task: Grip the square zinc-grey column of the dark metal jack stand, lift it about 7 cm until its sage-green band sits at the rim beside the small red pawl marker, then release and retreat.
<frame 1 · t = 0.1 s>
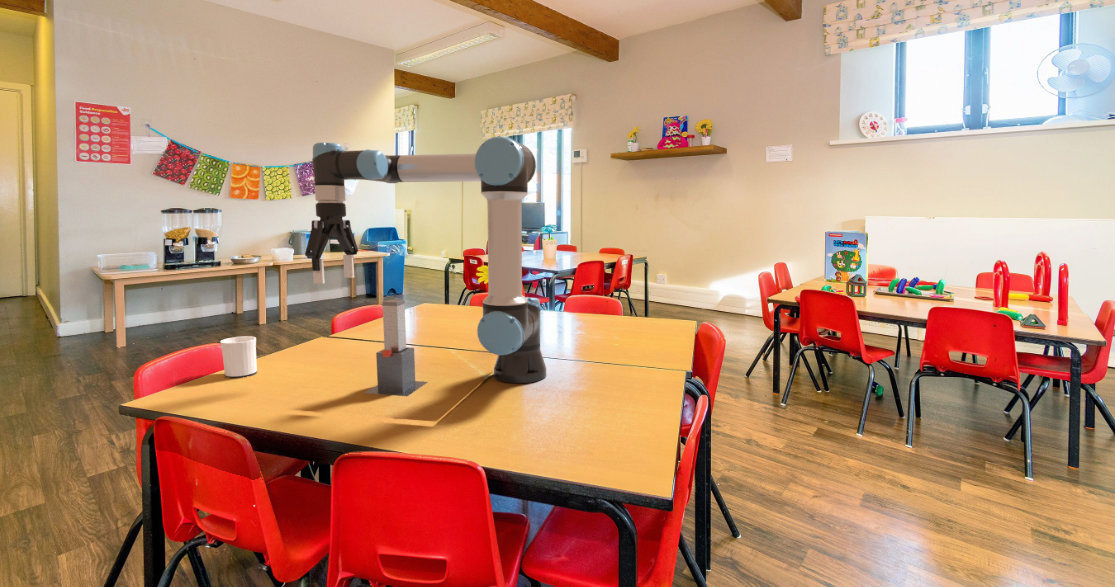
hand: (334, 280, 150), 28 cm above the table, fingers open, 13 cm apart
column: (395, 344, 141), point 12 cm above the table, slide at 0.0 cm
stand housing: (397, 390, 143), on the table
mug: (239, 374, 158), on the table
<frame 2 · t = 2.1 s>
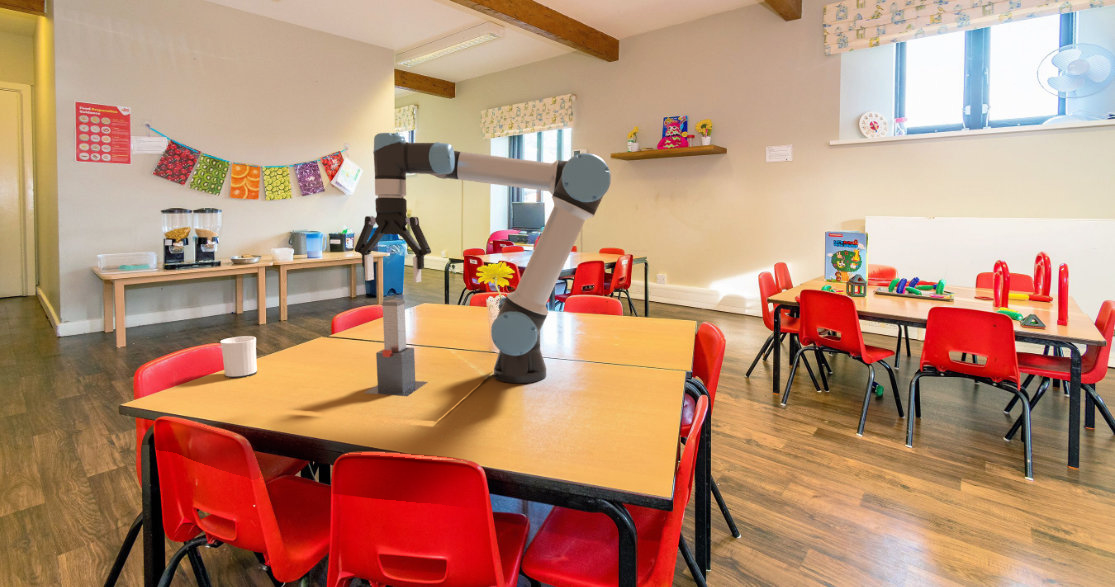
hand: (393, 281, 140), 29 cm above the table, fingers open, 13 cm apart
nothing on the table moved.
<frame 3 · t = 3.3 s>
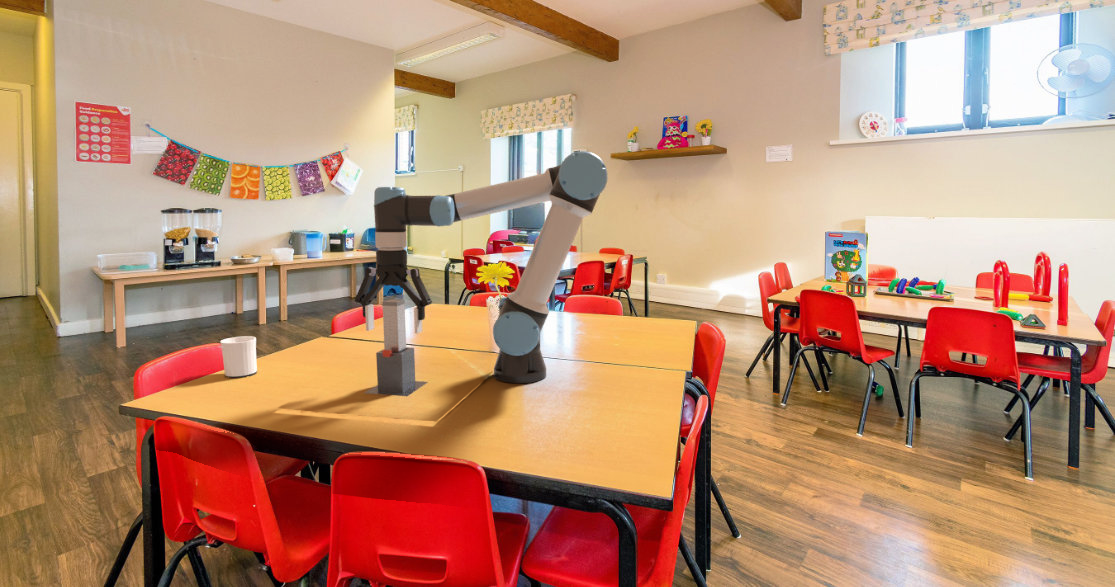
hand: (394, 331, 141), 16 cm above the table, fingers open, 13 cm apart
nothing on the table moved.
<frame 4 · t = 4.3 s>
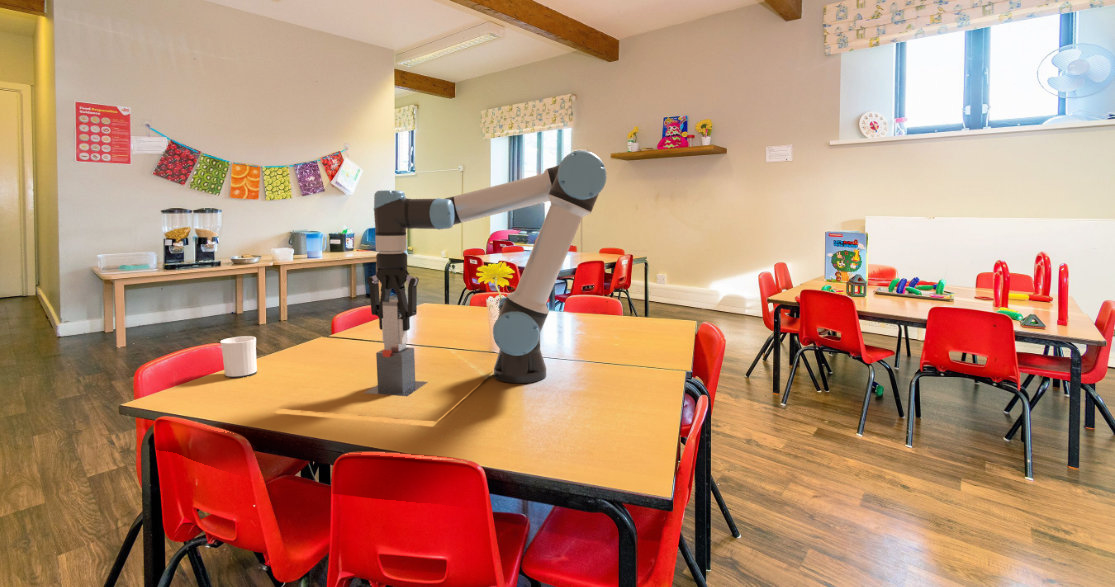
hand: (395, 342, 141), 13 cm above the table, fingers closed on column, 4 cm apart
column: (395, 344, 141), point 12 cm above the table, slide at 0.0 cm, touching gripper, stand housing
everything else where it was.
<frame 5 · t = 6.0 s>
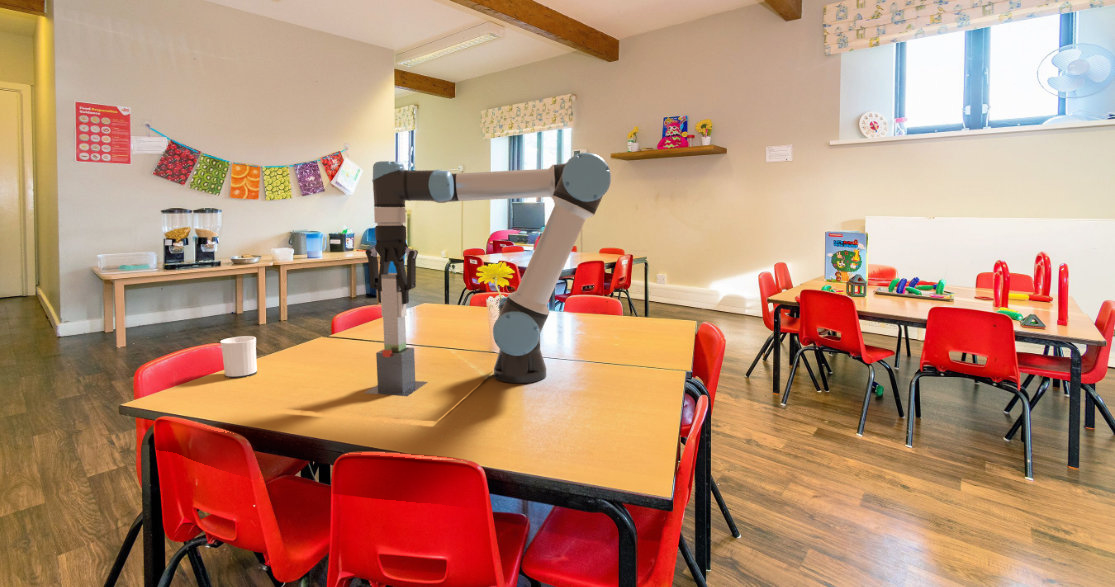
hand: (394, 315, 140), 20 cm above the table, fingers closed on column, 4 cm apart
column: (394, 318, 140), point 19 cm above the table, slide at 7.0 cm, touching gripper
everything else where it was.
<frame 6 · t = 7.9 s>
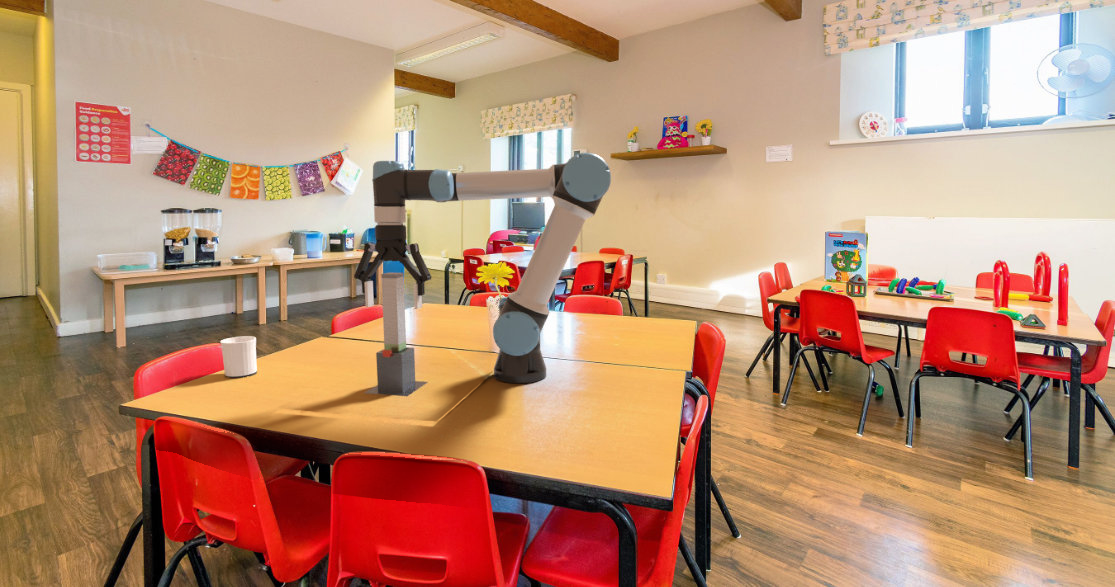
hand: (393, 307, 140), 22 cm above the table, fingers open, 13 cm apart
column: (394, 317, 140), point 20 cm above the table, slide at 7.1 cm
everything else where it was.
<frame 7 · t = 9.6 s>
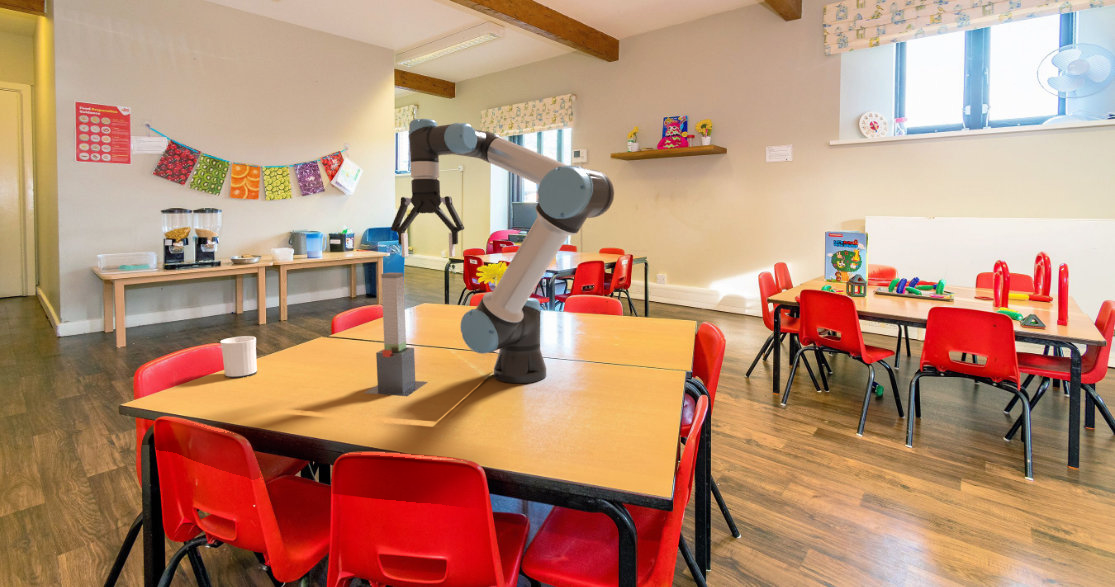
hand: (428, 256, 151), 34 cm above the table, fingers open, 13 cm apart
nothing on the table moved.
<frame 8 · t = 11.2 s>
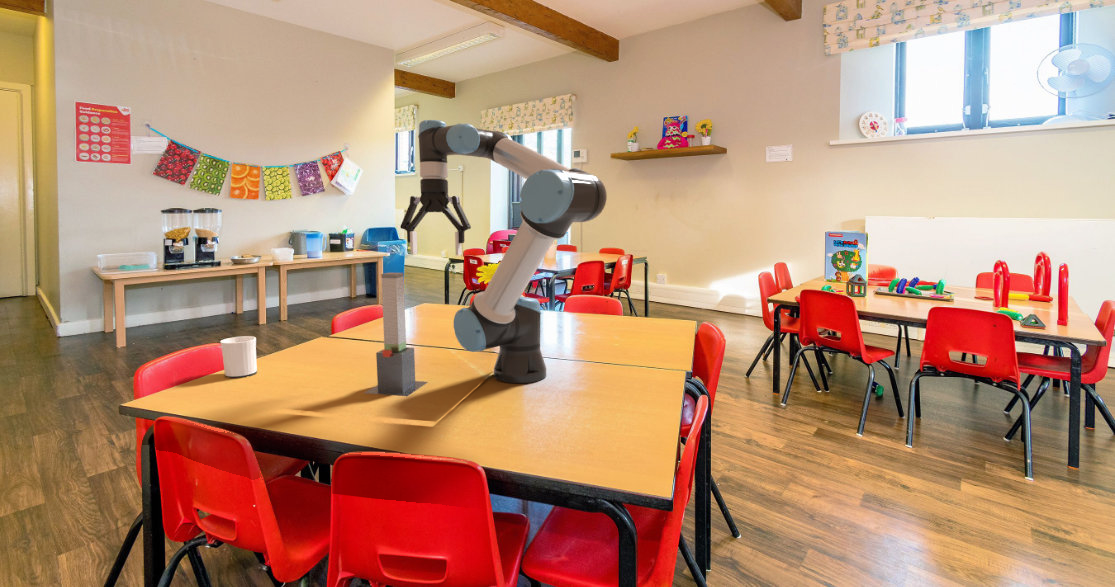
hand: (436, 254, 155), 35 cm above the table, fingers open, 13 cm apart
nothing on the table moved.
at the end: column slide at 7.1 cm; the gripper is holding nothing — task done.
